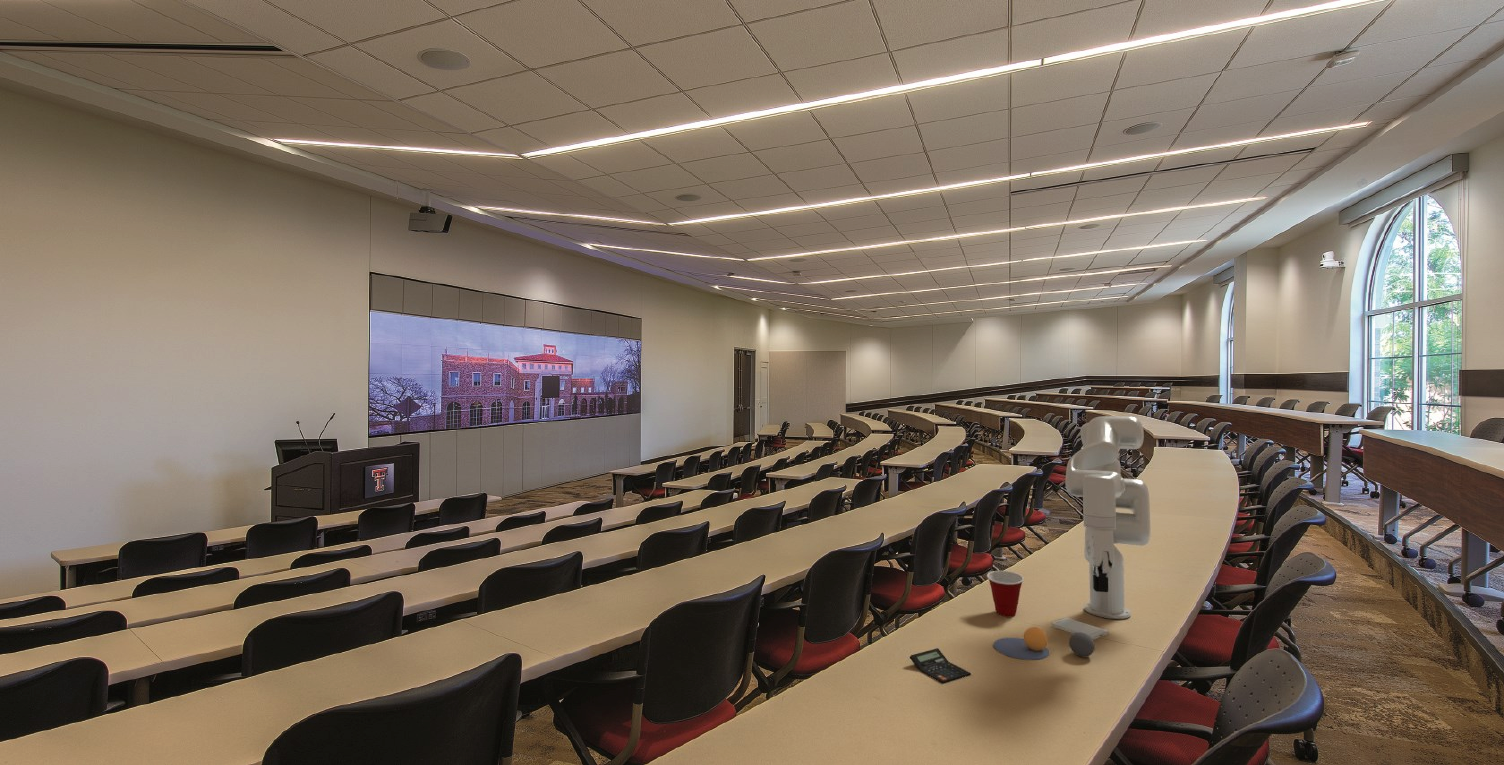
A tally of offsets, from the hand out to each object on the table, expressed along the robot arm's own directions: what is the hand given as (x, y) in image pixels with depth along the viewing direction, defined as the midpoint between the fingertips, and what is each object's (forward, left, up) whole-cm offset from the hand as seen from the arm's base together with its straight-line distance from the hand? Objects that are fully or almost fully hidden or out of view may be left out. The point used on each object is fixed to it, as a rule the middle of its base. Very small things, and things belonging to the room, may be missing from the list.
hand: (1100, 590), depth 164 cm
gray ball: (+1, -5, -14) cm, 15 cm away
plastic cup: (-27, -20, -17) cm, 38 cm away
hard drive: (-18, -1, -18) cm, 25 cm away
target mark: (0, -20, -17) cm, 26 cm away
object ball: (0, -16, -14) cm, 21 cm away
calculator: (+18, -42, -18) cm, 49 cm away
